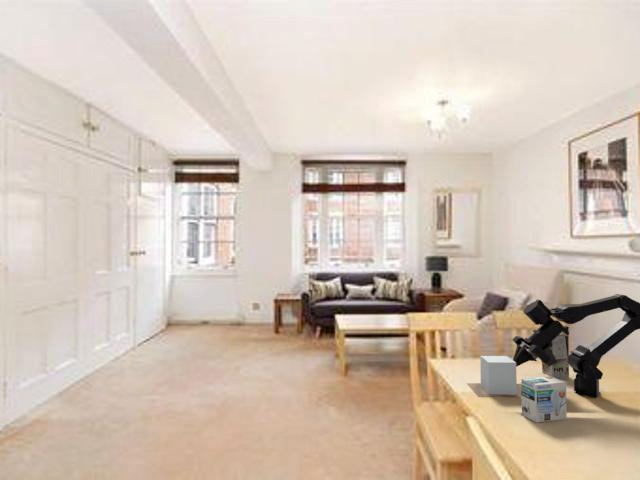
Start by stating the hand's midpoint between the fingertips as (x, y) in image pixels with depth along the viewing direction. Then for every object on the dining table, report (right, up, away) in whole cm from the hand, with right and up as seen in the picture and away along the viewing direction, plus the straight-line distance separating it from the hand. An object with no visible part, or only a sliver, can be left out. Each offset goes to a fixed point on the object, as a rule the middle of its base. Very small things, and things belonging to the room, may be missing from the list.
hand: (512, 366), depth 156 cm
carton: (-5, -8, 0) cm, 9 cm away
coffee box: (+25, -9, +21) cm, 34 cm away
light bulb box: (0, -9, -21) cm, 23 cm away
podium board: (-3, -9, 0) cm, 10 cm away
